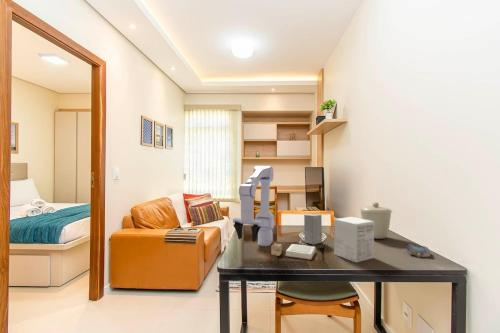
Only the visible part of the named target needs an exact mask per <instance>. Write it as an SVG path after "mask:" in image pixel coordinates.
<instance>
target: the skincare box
mask: <svg viewBox="0 0 500 333" xmlns="http://www.w3.org/2000/svg"><path fill="white" fill-rule="evenodd" d="M303 217H304V218H303V222H304V226H303V227H304V231H303V232H304V243H305V244H306V243H307V244H310V245H313V246H315V245H317V244H320V243H322V242H323V240H322V239H323V237H322V236H323V235H322V233H323V231H322V227H323V226H322V223H323V222H322V219H323V218H322V214H315V213H307V214H304V216H303Z"/></svg>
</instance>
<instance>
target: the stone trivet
mask: <svg viewBox="0 0 500 333" xmlns="http://www.w3.org/2000/svg"><path fill="white" fill-rule="evenodd" d="M315 254H316V246H314V245H313V246H311V245H304V244H303V245H302V244H297V243H291V244H290V246H289V247H288V248H287V249H286V250H285V257H291V258H297V259H306V260H312V258H313V257H314V255H315Z"/></svg>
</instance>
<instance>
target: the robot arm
mask: <svg viewBox="0 0 500 333" xmlns="http://www.w3.org/2000/svg"><path fill="white" fill-rule="evenodd" d="M252 172H253V175H251V176H249V178H247V180H246V181H245V183H242V184H240V186H239V188H238V195H239V200H240V217H239V218H237V217H234V218H232V223H234V224H233V227H234V229H235V232H236V235H237V239H238V240H241V239H243V227H244V225H250V226H251V227H250V229H251V235H252V237H251V239H252V242H253V243H255V242H256V241H257V245H258V246H260V247H268V246H272V244H273V242H274V241H273V240H274V236H273V235H274V233H273V229H274V228H275V216H274V214H273V213H271V211H270V193H271V192H270V187H271V186H270V185H271V182H273V180H274V168H273V166H272V165H255V166H254V167H253V170H252ZM259 184H260V211H259V212H258V213H256V214H255V219H254V197H255V195H256V192H257V187H258V186H259Z"/></svg>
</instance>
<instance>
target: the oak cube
mask: <svg viewBox="0 0 500 333" xmlns="http://www.w3.org/2000/svg"><path fill="white" fill-rule="evenodd" d="M270 247H271V248H270V249H271V250H270V251H271V252H270V254H271V255H272V256H278V257H279V256H281V255H282V253H283V252H282V248H283V247H282V244H281V243H272V244H271V245H270Z"/></svg>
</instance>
